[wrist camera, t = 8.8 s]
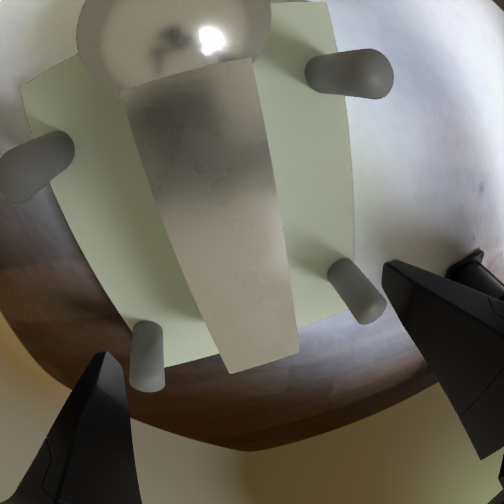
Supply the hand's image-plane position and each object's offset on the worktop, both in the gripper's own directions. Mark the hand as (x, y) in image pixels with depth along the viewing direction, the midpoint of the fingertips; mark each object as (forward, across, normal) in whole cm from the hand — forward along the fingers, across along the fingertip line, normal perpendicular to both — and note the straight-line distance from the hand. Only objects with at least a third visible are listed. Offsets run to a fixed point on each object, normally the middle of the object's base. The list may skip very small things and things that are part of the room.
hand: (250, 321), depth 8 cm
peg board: (+8, 0, 0) cm, 8 cm away
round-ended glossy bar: (+7, 0, -2) cm, 8 cm away
